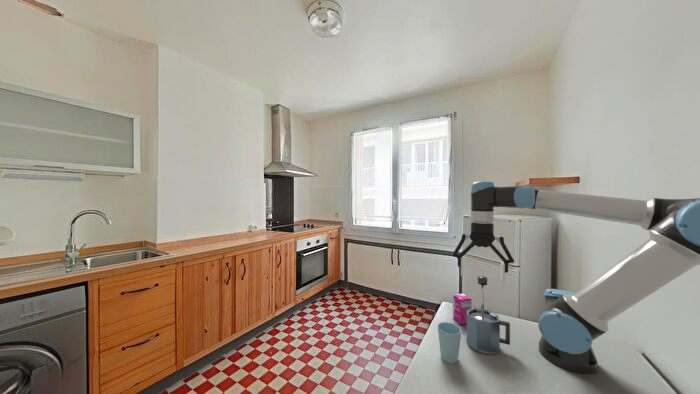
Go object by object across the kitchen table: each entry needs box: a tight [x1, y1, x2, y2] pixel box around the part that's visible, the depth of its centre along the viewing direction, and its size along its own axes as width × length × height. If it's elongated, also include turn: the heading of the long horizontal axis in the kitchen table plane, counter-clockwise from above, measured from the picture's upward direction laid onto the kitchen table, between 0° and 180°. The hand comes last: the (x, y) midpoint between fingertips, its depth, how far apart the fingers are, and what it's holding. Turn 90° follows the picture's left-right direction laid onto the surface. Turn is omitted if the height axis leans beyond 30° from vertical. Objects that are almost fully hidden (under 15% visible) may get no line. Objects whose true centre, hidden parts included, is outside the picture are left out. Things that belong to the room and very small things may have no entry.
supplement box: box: [452, 293, 472, 326], centre depth 106 cm, size 6×6×12 cm
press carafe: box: [466, 307, 511, 356], centre depth 88 cm, size 14×11×12 cm
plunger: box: [470, 275, 495, 322], centre depth 88 cm, size 8×8×16 cm
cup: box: [437, 321, 462, 364], centre depth 81 cm, size 8×8×10 cm
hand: (481, 278), depth 89 cm, fingers open, 13 cm apart
